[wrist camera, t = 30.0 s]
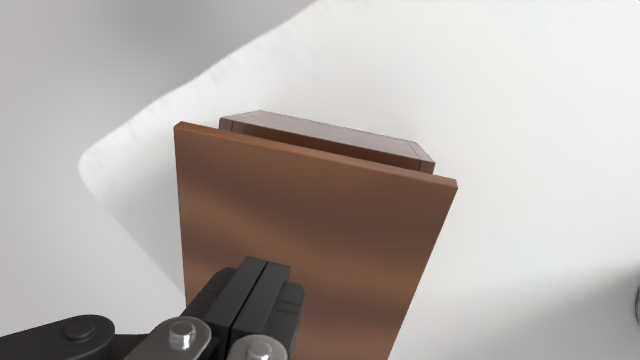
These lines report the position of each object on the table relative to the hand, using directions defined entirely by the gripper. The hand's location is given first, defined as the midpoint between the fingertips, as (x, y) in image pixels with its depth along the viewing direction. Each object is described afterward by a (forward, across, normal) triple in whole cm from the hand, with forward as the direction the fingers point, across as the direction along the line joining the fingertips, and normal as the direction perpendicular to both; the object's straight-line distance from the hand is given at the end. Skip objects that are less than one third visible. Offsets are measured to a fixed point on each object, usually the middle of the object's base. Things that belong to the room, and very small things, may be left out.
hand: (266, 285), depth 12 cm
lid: (+9, 0, -5) cm, 10 cm away
